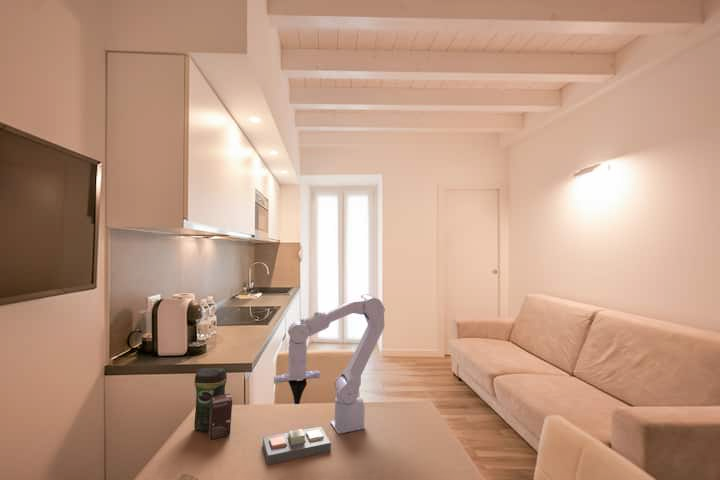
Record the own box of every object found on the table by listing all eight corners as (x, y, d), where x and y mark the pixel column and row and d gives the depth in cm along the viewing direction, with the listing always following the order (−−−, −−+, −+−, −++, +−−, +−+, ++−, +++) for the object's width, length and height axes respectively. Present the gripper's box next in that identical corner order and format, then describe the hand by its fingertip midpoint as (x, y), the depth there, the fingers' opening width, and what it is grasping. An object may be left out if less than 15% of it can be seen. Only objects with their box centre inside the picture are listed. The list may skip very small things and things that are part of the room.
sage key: (301, 438, 112) (301, 428, 112) (304, 445, 108) (304, 435, 108) (288, 441, 110) (288, 431, 110) (291, 448, 106) (291, 437, 106)
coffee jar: (230, 421, 124) (230, 365, 125) (219, 432, 116) (219, 372, 117) (203, 421, 125) (203, 365, 126) (189, 431, 117) (190, 371, 118)
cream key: (319, 439, 114) (319, 429, 114) (322, 445, 110) (323, 435, 110) (306, 441, 112) (306, 431, 112) (309, 448, 109) (309, 438, 109)
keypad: (321, 434, 117) (321, 426, 117) (330, 451, 108) (330, 442, 108) (262, 445, 110) (263, 437, 110) (267, 464, 101) (268, 455, 101)
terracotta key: (283, 446, 110) (283, 436, 110) (285, 453, 106) (286, 443, 106) (269, 448, 108) (269, 438, 108) (271, 456, 104) (271, 445, 104)
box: (210, 440, 112) (211, 403, 111) (208, 432, 116) (210, 396, 115) (231, 436, 115) (232, 399, 114) (228, 427, 119) (230, 392, 118)
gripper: (276, 367, 112) (276, 412, 112) (322, 361, 117) (322, 404, 117) (273, 359, 118) (272, 402, 118) (316, 355, 124) (316, 395, 124)
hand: (296, 402), depth 118 cm, fingers closed
